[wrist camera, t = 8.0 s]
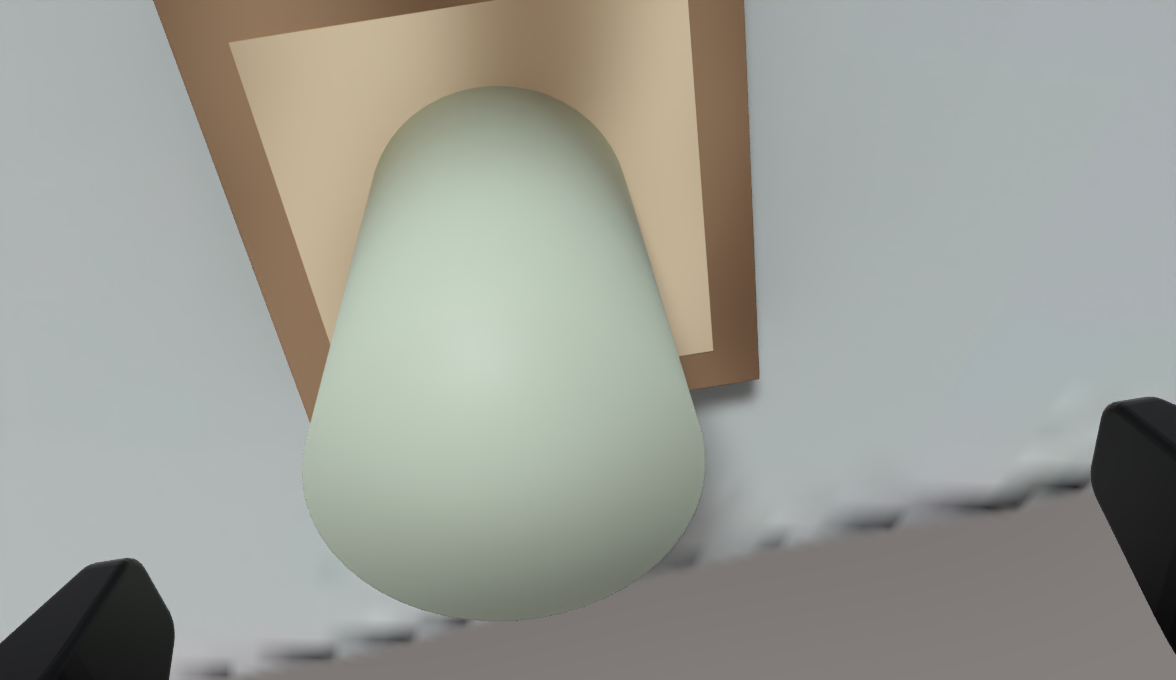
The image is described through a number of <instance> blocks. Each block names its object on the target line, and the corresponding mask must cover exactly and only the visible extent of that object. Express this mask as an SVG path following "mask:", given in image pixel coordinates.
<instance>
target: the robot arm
mask: <svg viewBox="0 0 1176 680" xmlns="http://www.w3.org/2000/svg"><path fill="white" fill-rule="evenodd" d="M1091 483H1092V487H1093V491H1094V494H1095V496H1096V498H1097V500H1098V503H1099V505H1100V507H1101V509H1102V511H1103V513H1104V515H1105V517H1106V519H1107V520H1108V523H1109V525H1110V527H1111V529H1112V531H1113V533H1114V535H1115V537H1116V539H1117V541H1118V543H1119V545H1120V547H1121V549H1122V551H1123V553H1124V555H1125V557H1126V559H1127V562H1128V564H1129V566H1130V568H1131V570H1132V572H1133V574H1134V576H1135V578H1136V580H1137V582H1138V584H1139V586H1140V588H1141V590H1142V592H1143V594H1144V596H1145V598H1146V600H1147V602H1148V604H1149V606H1150V608H1151V610H1152V612H1153V614H1154V616H1155V618H1156V620H1157V622H1158V624H1159V626H1160V627H1161V630H1162V631H1163V633H1164V635H1165V637H1166V639H1167V641H1168V642H1169V644H1170V646H1171V647H1172V649H1173V651H1174V652H1175V654H1176V405H1174V404H1172V403H1170V402H1167V401H1165V400H1163V399H1160V398H1157V397H1143V398H1136V399H1130V400H1124V401H1117V402H1113V403H1111V404H1109V405H1108V406H1107V407H1106V408H1105V410H1104V411H1103V413H1102V417H1101V421H1100V426H1099V431H1098V436H1097V440H1096V445H1095V450H1094V455H1093V460H1092V465H1091ZM174 638H175V633H174V624H173V620H172V617H171V614H170V612H169V610H168V608H167V607H166V605H165V603H164V601H163V600H162V598H161V596H160V594H159V593H158V591H157V589H156V587H155V585H154V584H153V582H152V580H151V578H150V577H149V575H148V573H147V571H146V570H145V568H144V567H143V565H142V564H141V563H140V562H139V561H137V560H135V559H132V558H123V559H117V560H110V561H104V562H98V563H94V564H91V565H89V566H87V567H85V568H84V569H83V570H81V571H80V572H79V573H78V574H77V575H76V576H75V577H74V578H72V579H71V580H70V581H69V582H68V583H67V584H66V585H65V586H64V587H62V588H61V589H60V590H59V591H58V592H57V593H56V594H55V595H54V596H52V597H51V598H50V599H49V600H48V601H47V602H46V603H45V604H44V605H42V606H41V607H40V608H39V609H38V610H37V611H36V612H35V613H34V614H32V615H31V616H30V617H29V618H28V619H27V620H26V621H25V622H24V623H22V624H21V625H20V626H19V627H18V628H17V629H16V630H15V631H14V632H12V633H11V634H10V635H9V636H8V637H7V638H6V639H5V640H4V641H2V642H1V643H0V680H169V675H170V668H171V661H172V654H173V647H174Z"/></svg>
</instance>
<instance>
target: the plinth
mask: <svg viewBox="0 0 1176 680" xmlns="http://www.w3.org/2000/svg"><path fill="white" fill-rule="evenodd" d="M153 1H154V4H155V6H156V9H157V12H158V15H159V17H160V20H161V23H162V25H163V28H164V31H165V33H166V36H167V39H168V41H169V44H170V47H171V50H172V52H173V55H174V58H175V60H176V63H177V66H178V68H179V71H180V74H181V76H182V79H183V82H184V85H185V87H186V90H187V93H188V95H189V98H190V101H191V103H192V106H193V109H194V111H195V114H196V117H197V120H198V122H199V125H200V128H201V130H202V133H203V136H204V138H205V141H206V144H207V146H208V149H209V152H210V155H211V157H212V160H213V163H214V165H215V168H216V171H217V173H218V176H219V179H220V181H221V184H222V187H223V190H224V192H225V195H226V198H227V200H228V203H229V206H230V208H231V211H232V214H233V216H234V219H235V222H236V225H237V227H238V230H239V233H240V235H241V238H242V241H243V243H244V246H245V249H246V251H247V254H248V257H249V260H250V262H251V265H252V268H253V270H254V273H255V276H256V278H257V281H258V284H259V286H260V289H261V292H262V295H263V297H264V300H265V303H266V305H267V308H268V311H269V313H270V316H271V319H272V321H273V324H274V327H275V330H276V332H277V335H278V338H279V340H280V343H281V346H282V348H283V351H284V354H285V356H286V359H287V362H288V365H289V367H290V370H291V373H292V375H293V378H294V381H295V383H296V386H297V389H298V391H299V394H300V397H301V400H302V402H303V405H304V408H305V410H306V413H307V416H308V418H309V421H310V423H311V419H312V415H313V411H314V407H315V403H316V399H317V396H318V392H319V388H320V384H321V380H322V376H323V372H324V368H325V364H326V360H327V357H328V353H329V349H330V345H331V341H332V337H333V333H334V329H335V325H336V321H337V317H338V314H339V310H340V306H341V302H342V298H343V294H344V290H345V286H346V282H347V278H348V274H349V271H350V267H351V263H352V259H353V255H354V251H355V247H356V243H357V239H358V235H359V231H360V228H361V224H362V220H363V216H364V212H365V208H366V204H367V200H368V196H369V192H370V188H371V185H372V181H373V177H374V173H375V169H376V167H377V164H378V162H379V159H380V157H381V154H382V153H383V151H384V149H385V148H386V146H387V144H388V142H389V141H390V139H391V138H392V137H393V136H394V134H395V133H396V132H397V131H398V129H399V128H400V127H401V126H402V125H403V124H404V123H405V122H406V121H407V120H408V119H409V118H410V117H411V116H413V115H414V114H415V113H417V112H418V111H420V110H421V109H422V108H424V107H425V106H427V105H429V104H431V103H432V102H434V101H436V100H438V99H440V98H442V97H445V96H447V95H450V94H453V93H456V92H458V91H463V90H467V89H471V88H476V87H486V86H512V87H518V88H524V89H530V90H533V91H537V92H540V93H543V94H547V95H549V96H551V97H553V98H556V99H558V100H560V101H562V102H564V103H566V104H567V105H569V106H571V107H572V108H574V109H575V110H577V111H579V112H580V113H581V114H582V115H583V116H585V117H586V118H587V119H588V120H589V121H591V122H592V123H593V124H594V125H595V127H596V128H597V129H598V130H599V131H600V132H601V133H602V134H603V136H604V137H605V138H606V140H607V141H608V143H609V144H610V146H611V147H612V149H613V151H614V153H615V155H616V157H617V159H618V161H619V163H620V166H621V169H622V172H623V174H624V177H625V181H626V184H627V187H628V191H629V194H630V197H631V201H632V204H633V207H634V210H635V214H636V217H637V220H638V224H639V227H640V230H641V233H642V237H643V240H644V243H645V247H646V250H647V253H648V257H649V260H650V263H651V266H652V270H653V273H654V276H655V280H656V283H657V286H658V289H659V293H660V296H661V299H662V303H663V306H664V309H665V313H666V316H667V319H668V322H669V326H670V329H671V332H672V336H673V339H674V342H675V346H676V349H677V352H678V355H679V359H680V362H681V365H682V369H683V372H684V375H685V378H686V382H687V385H688V388H689V390H694V389H700V388H707V387H713V386H719V385H725V384H732V383H738V382H744V381H750V380H757V379H759V358H758V333H757V309H756V285H755V260H754V236H753V211H752V187H751V163H750V138H749V114H748V89H747V65H746V41H745V16H744V0H153Z"/></svg>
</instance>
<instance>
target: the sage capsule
mask: <svg viewBox="0 0 1176 680" xmlns="http://www.w3.org/2000/svg"><path fill="white" fill-rule="evenodd" d="M704 478H705V448H704V442H703V436H702V431H701V428H700V425H699V421H698V418H697V415H696V411H695V408H694V405H693V402H692V398H691V395H690V392H689V388H688V385H687V382H686V378H685V375H684V372H683V369H682V365H681V362H680V359H679V355H678V352H677V349H676V346H675V342H674V339H673V336H672V332H671V329H670V326H669V322H668V319H667V316H666V313H665V309H664V306H663V303H662V299H661V296H660V293H659V289H658V286H657V283H656V280H655V276H654V273H653V270H652V266H651V263H650V260H649V257H648V253H647V250H646V247H645V243H644V240H643V237H642V233H641V230H640V227H639V224H638V220H637V217H636V214H635V210H634V207H633V204H632V201H631V197H630V194H629V191H628V187H627V184H626V181H625V177H624V174H623V172H622V169H621V166H620V163H619V161H618V159H617V157H616V155H615V153H614V151H613V149H612V147H611V146H610V144H609V143H608V141H607V140H606V138H605V137H604V136H603V134H602V133H601V132H600V131H599V130H598V129H597V128H596V127H595V125H594V124H593V123H592V122H591V121H589V120H588V119H587V118H586V117H585V116H583V115H582V114H581V113H580V112H579V111H577V110H575V109H574V108H572V107H571V106H569V105H567V104H566V103H564V102H562V101H560V100H558V99H556V98H553V97H551V96H549V95H547V94H543V93H540V92H537V91H533V90H530V89H524V88H518V87H512V86H486V87H476V88H471V89H467V90H463V91H458V92H456V93H453V94H450V95H447V96H445V97H442V98H440V99H438V100H436V101H434V102H432V103H431V104H429V105H427V106H425V107H424V108H422V109H421V110H420V111H418V112H417V113H415V114H414V115H413V116H411V117H410V118H409V119H408V120H407V121H406V122H405V123H404V124H403V125H402V126H401V127H400V128H399V129H398V131H397V132H396V133H395V134H394V136H393V137H392V138H391V139H390V141H389V142H388V144H387V146H386V148H385V149H384V151H383V153H382V154H381V157H380V159H379V162H378V164H377V167H376V169H375V173H374V177H373V181H372V185H371V188H370V192H369V196H368V200H367V204H366V208H365V212H364V216H363V220H362V224H361V228H360V231H359V235H358V239H357V243H356V247H355V251H354V255H353V259H352V263H351V267H350V271H349V274H348V278H347V282H346V286H345V290H344V294H343V298H342V302H341V306H340V310H339V314H338V317H337V321H336V325H335V329H334V333H333V337H332V341H331V345H330V349H329V353H328V357H327V360H326V364H325V368H324V372H323V376H322V380H321V384H320V388H319V392H318V396H317V399H316V403H315V407H314V411H313V415H312V419H311V423H310V427H309V431H308V435H307V439H306V443H305V448H304V452H303V461H302V482H303V490H304V497H305V500H306V503H307V507H308V510H309V513H310V516H311V518H312V520H313V522H314V524H315V526H316V528H317V530H318V532H319V534H320V536H321V537H322V539H323V540H324V542H325V543H326V544H327V546H328V547H329V549H330V550H331V551H332V553H333V554H334V555H335V556H336V557H337V558H338V559H339V560H340V561H341V562H342V563H343V564H344V565H345V566H346V567H347V568H348V569H349V570H350V571H352V572H353V573H354V574H355V575H356V576H358V577H359V578H360V579H361V580H363V581H364V582H366V583H367V584H369V585H370V586H372V587H374V588H375V589H377V590H378V591H380V592H381V593H383V594H386V595H388V596H390V597H392V598H394V599H396V600H398V601H400V602H402V603H405V604H407V605H410V606H413V607H416V608H418V609H421V610H424V611H428V612H432V613H436V614H440V615H444V616H449V617H455V618H461V619H468V620H481V621H518V620H526V619H535V618H541V617H547V616H552V615H557V614H561V613H565V612H568V611H571V610H575V609H578V608H581V607H585V606H587V605H590V604H592V603H594V602H597V601H599V600H602V599H604V598H606V597H608V596H610V595H612V594H614V593H616V592H618V591H620V590H621V589H623V588H625V587H627V586H628V585H630V584H631V583H633V582H634V581H636V580H637V579H639V578H640V577H642V576H643V575H644V574H646V573H647V572H648V571H649V570H650V569H651V568H653V567H654V566H655V565H656V564H657V563H659V562H660V561H661V560H662V559H663V558H664V556H665V555H666V554H667V553H668V552H669V551H670V550H671V549H672V548H673V547H674V546H675V544H676V543H677V541H678V540H679V539H680V537H681V536H682V534H683V533H684V532H685V530H686V529H687V527H688V525H689V523H690V521H691V519H692V517H693V515H694V513H695V511H696V508H697V505H698V502H699V500H700V497H701V494H702V489H703V483H704Z"/></svg>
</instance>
